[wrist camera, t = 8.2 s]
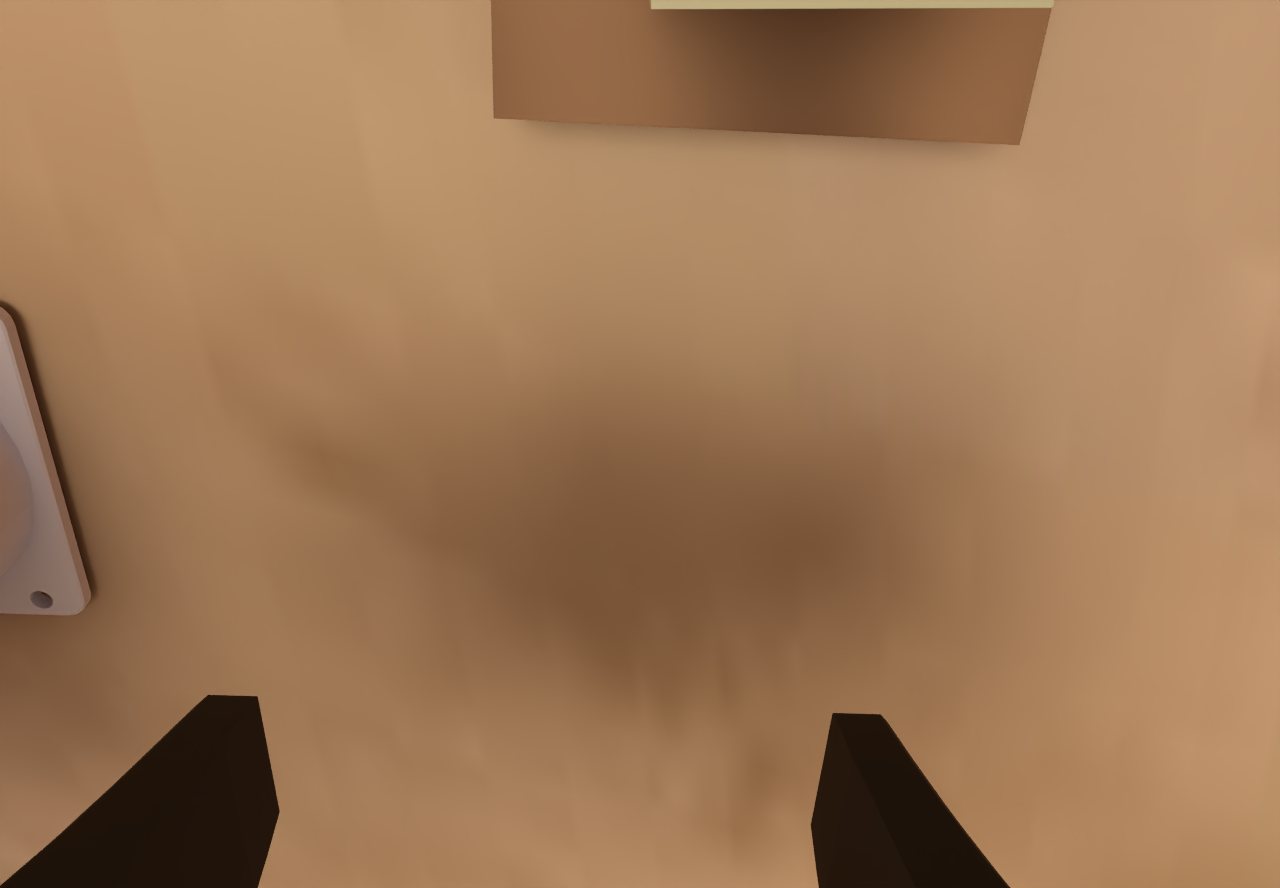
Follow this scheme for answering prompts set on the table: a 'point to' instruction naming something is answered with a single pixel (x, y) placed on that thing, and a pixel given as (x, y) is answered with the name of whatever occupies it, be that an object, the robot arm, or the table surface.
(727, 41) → the walnut box
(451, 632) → the table surface
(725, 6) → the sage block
